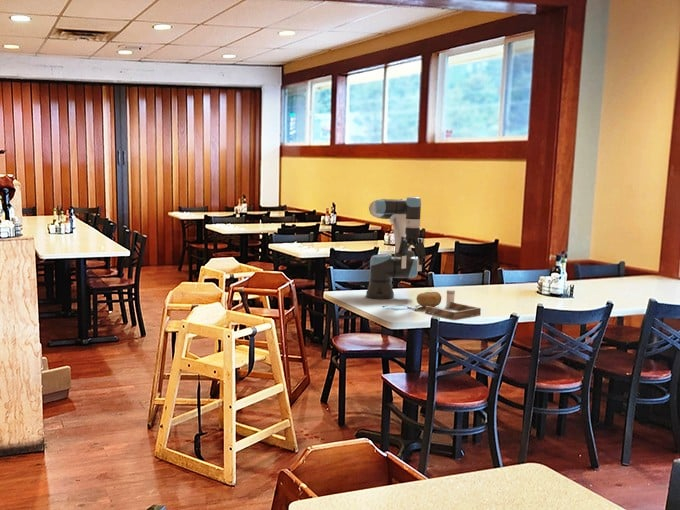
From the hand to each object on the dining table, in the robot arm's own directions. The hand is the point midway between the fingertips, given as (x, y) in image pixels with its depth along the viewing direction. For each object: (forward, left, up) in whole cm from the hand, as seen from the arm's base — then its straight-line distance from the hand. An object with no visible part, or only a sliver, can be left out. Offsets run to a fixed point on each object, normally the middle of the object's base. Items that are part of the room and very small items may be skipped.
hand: (411, 269), depth 366 cm
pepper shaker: (+17, +12, -18) cm, 27 cm away
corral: (+29, 0, -18) cm, 34 cm away
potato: (+13, 0, -18) cm, 22 cm away
